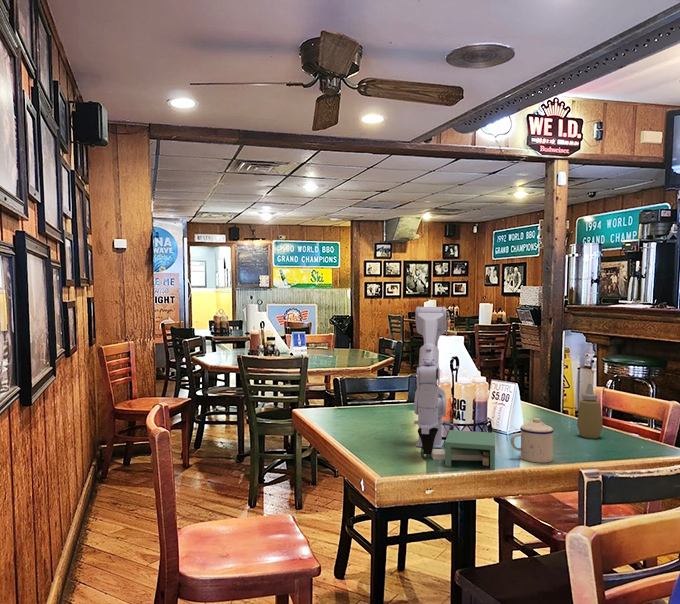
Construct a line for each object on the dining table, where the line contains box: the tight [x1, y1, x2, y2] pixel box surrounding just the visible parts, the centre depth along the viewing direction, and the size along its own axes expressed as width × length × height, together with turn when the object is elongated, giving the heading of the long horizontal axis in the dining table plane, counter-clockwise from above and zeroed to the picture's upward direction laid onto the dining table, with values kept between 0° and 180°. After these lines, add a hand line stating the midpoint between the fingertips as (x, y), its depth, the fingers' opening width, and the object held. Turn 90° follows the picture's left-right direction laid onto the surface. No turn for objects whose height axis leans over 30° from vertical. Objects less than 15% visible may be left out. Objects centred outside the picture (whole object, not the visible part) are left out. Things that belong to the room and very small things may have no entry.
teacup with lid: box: [510, 417, 554, 464], centre depth 159 cm, size 12×9×12 cm
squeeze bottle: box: [576, 383, 604, 439], centre depth 187 cm, size 8×8×18 cm
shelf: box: [444, 429, 496, 471], centre depth 157 cm, size 16×13×6 cm
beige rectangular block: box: [430, 448, 483, 462], centre depth 160 cm, size 6×14×2 cm, turn 87°
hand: (427, 453), depth 160 cm, fingers closed
